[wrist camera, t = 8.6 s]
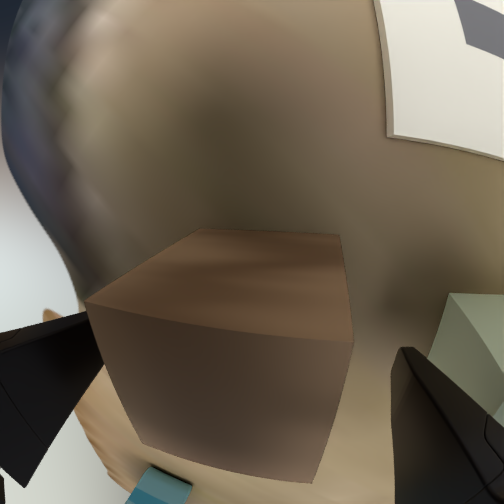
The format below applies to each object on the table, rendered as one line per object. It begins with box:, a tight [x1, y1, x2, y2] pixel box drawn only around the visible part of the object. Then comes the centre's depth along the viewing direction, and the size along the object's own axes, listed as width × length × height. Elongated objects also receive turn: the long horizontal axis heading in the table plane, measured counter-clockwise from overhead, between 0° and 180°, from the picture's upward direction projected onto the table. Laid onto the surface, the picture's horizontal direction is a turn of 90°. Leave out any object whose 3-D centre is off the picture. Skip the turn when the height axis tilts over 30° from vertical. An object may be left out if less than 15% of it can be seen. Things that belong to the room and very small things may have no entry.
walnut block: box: [84, 229, 354, 484], centre depth 8 cm, size 5×5×6 cm
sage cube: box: [427, 293, 504, 427], centre depth 6 cm, size 6×6×6 cm
